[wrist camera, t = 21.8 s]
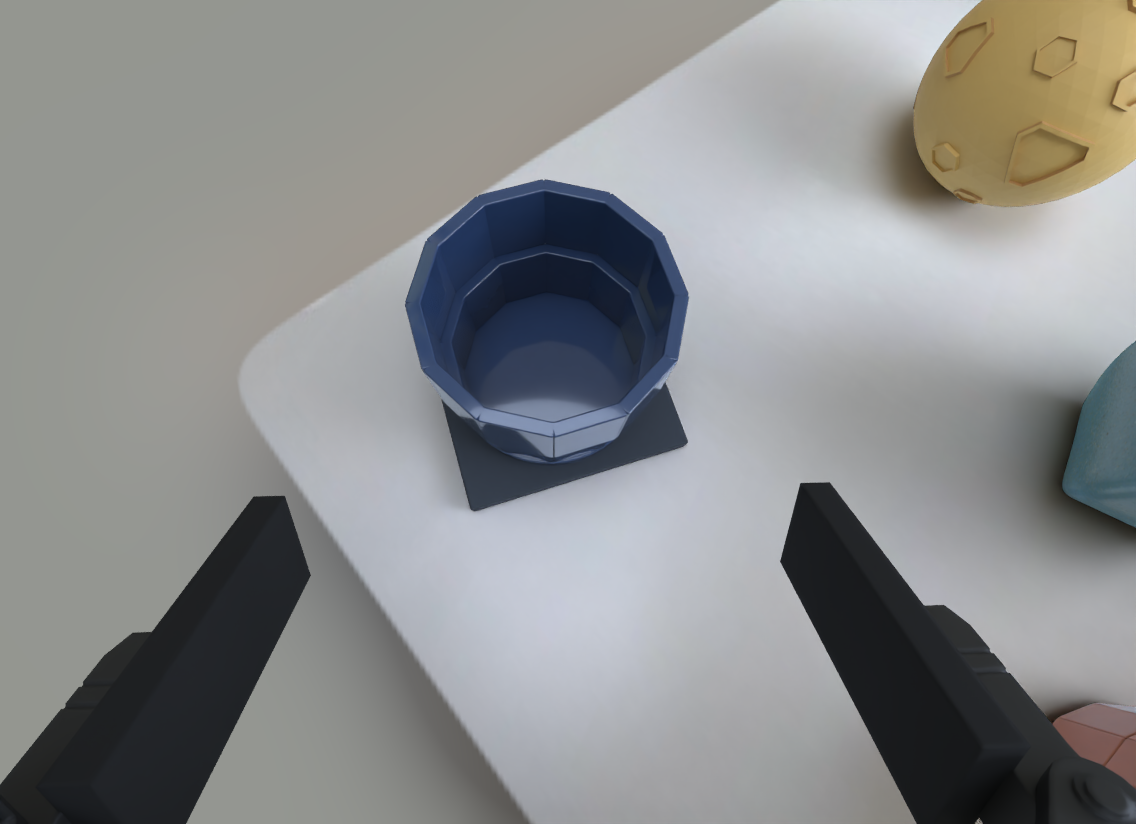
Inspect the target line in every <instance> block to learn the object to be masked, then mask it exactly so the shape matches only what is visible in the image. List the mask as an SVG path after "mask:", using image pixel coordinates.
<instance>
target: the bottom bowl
mask: <svg viewBox="0 0 1136 824" xmlns="http://www.w3.org/2000/svg"><path fill="white" fill-rule="evenodd" d="M1052 725H1053V726H1054V727H1055V728H1056V729H1057V731H1058V732H1059V733H1060V734H1061V736H1062V737H1063V738H1064V739H1065V740H1066V742H1067V743H1068V744H1069V745H1070V746H1071V747H1072V748H1073V750H1074V751H1075V752H1076V753H1077V754H1078V755H1079V756H1080V757H1083V758H1085V759H1088V760H1091V761H1093V762H1096V763H1099V764H1101V765H1103V766H1105V767H1106V768H1108V769H1110V770H1111V771H1113V772H1114V773H1116V774H1118V775H1119V776H1121V777H1123V778H1124V779H1125V780H1126V781H1127V782H1128V783H1129V784H1131V785H1132V786H1133V787H1134V788H1135V789H1136V707H1135V706H1126V705H1115V704H1104V703H1094V704H1089V705H1087V706H1084V707H1082V708H1079V709H1077V710H1074V711H1072V712H1069V713H1067V714H1064V715H1062V716H1059V718H1057V719H1056V720H1055V721H1054V722H1053V723H1052Z"/></svg>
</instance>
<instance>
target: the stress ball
mask: <svg viewBox="0 0 1136 824" xmlns="http://www.w3.org/2000/svg"><path fill="white" fill-rule="evenodd" d="M913 109H914V118H913V125H914V137H915V141H916V146H917V149H918V152H919V155H920V158H921V160H922V161H923V163H924V165H925V167H926V169H927V170H928V172H929V173H930V174H931V175H932V176H933V177H934V178H935V179H936V181H937V182H939V183H940V184H941V185H942V186H943V187H945V188H946V189H947V190H949V191H951V192H952V193H953V194H954V195H955V196H957V197H958V198H959V199H960V200H963V201H967V202H970V203H974V204H977V203H980V204H985V205H992V206H1001V207H1020V206H1029V205H1036V204H1042V203H1046V202H1051V201H1055V200H1059V199H1062V198H1065V197H1068V196H1070V195H1073V194H1076V193H1079V192H1081V191H1084V190H1086V189H1088V188H1090V187H1092V186H1094V185H1096V184H1098V183H1101V182H1102V181H1104V180H1106V179H1107V178H1109V177H1111V176H1112V175H1114V174H1116V173H1117V172H1119V171H1121V170H1122V169H1123V168H1125V167H1126V166H1127V165H1129V164H1130V163H1131V162H1133V161H1134V160H1135V159H1136V0H982V1H981V2H980V3H978V4H977V5H976V6H975V7H974V8H973V9H972V10H971V11H970V12H969V13H968V14H967V15H966V16H965V17H963V18H962V19H961V21H960V22H959V23H958V24H957V25H956V26H955V28H954V29H953V30H952V31H951V32H950V33H949V35H948V36H947V37H946V38H945V40H944V41H943V43H942V44H941V46H940V47H939V49H938V50H937V52H936V53H935V55H934V56H933V58H932V60H931V62H930V64H929V66H928V68H927V70H926V72H925V74H924V76H923V78H922V81H921V84H920V86H919V89H918V92H917V96H916V100H915V103H914V107H913Z"/></svg>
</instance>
